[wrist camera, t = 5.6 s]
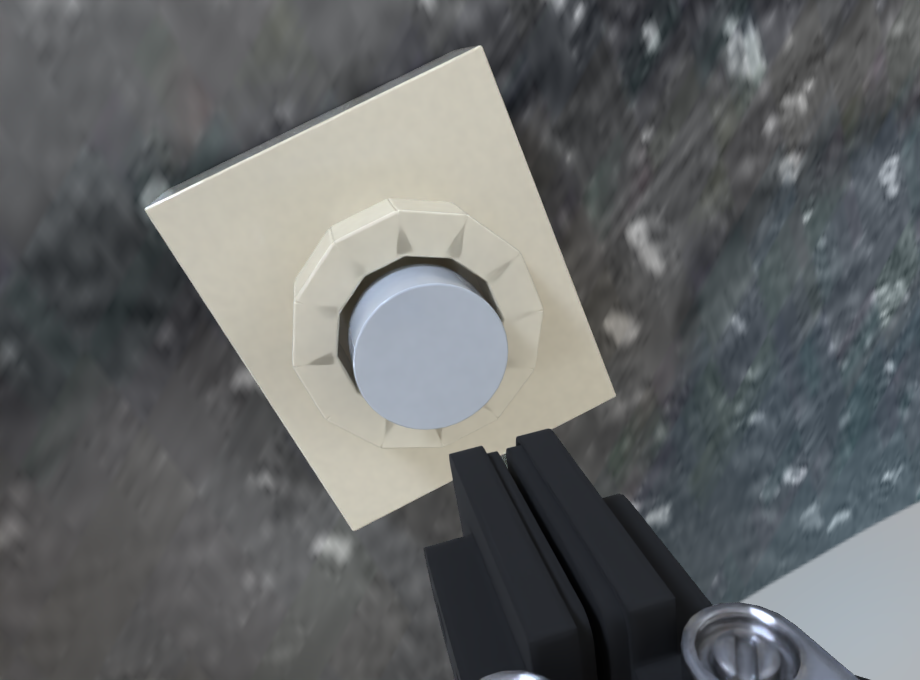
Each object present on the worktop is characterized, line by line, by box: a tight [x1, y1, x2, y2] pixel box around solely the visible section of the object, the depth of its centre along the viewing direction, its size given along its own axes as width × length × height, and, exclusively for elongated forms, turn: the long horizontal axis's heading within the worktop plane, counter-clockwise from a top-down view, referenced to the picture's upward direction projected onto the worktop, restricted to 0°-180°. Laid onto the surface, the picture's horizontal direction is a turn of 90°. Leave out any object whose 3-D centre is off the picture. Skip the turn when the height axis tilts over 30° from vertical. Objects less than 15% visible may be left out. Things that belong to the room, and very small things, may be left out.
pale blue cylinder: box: [348, 264, 508, 430], centre depth 18 cm, size 4×4×2 cm
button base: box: [145, 46, 616, 531], centre depth 21 cm, size 12×10×5 cm
